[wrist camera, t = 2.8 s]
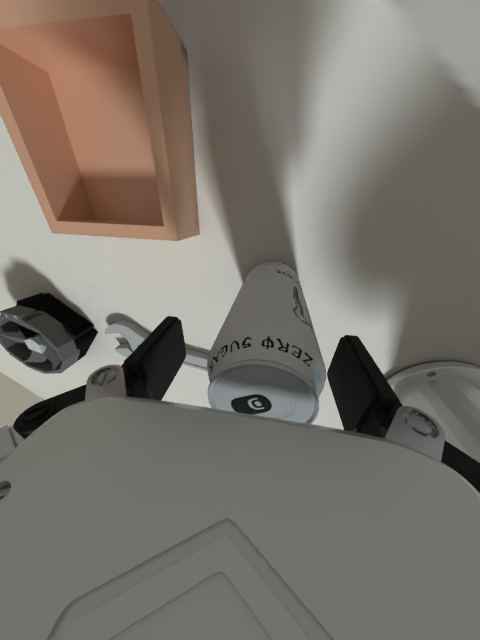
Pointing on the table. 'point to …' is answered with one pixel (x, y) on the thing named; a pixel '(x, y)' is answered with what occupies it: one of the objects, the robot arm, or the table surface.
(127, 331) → the adjustable wrench
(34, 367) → the cpu cooler
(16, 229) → the table surface
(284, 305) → the energy drink can
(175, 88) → the bin
